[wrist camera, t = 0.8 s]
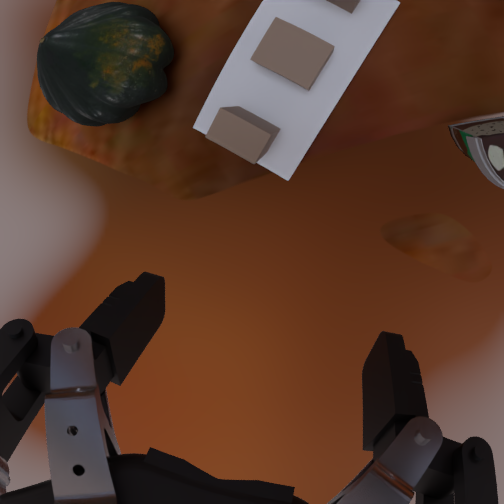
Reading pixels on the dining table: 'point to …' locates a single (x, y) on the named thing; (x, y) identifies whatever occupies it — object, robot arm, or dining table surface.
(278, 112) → the display stand
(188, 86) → the dining table surface
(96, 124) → the squash
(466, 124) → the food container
